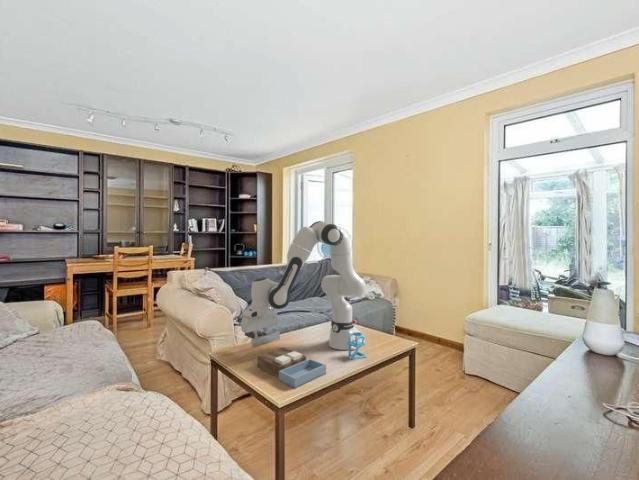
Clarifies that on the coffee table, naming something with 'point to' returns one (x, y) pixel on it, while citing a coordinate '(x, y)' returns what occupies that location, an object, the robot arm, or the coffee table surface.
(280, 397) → the coffee table surface
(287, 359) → the tile
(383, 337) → the coffee table surface
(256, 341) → the scraper
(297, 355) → the tile
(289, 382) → the box
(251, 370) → the coffee table surface
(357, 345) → the light blue open frame
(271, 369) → the plate
